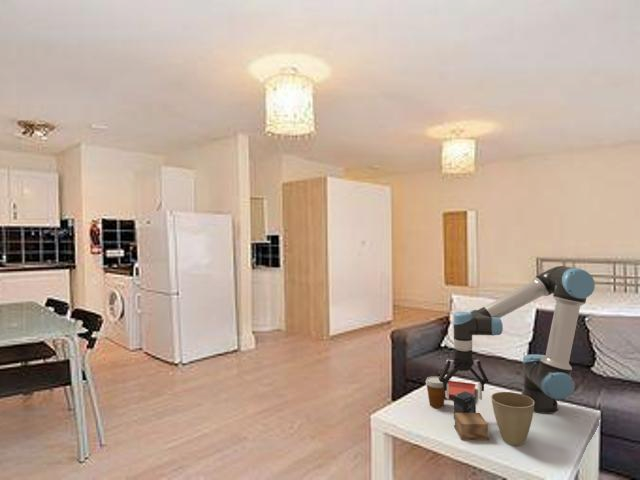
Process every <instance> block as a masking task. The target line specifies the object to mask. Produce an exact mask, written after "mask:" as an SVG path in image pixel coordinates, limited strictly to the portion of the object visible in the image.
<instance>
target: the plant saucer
mask: <svg viewBox="0 0 640 480" xmlns="http://www.w3.org/2000/svg"><path fill="white" fill-rule="evenodd" d="M448 384H449V399H448V400H450V399H451V400H454V395H457V394H459V393H462V392H464V391H466V392H468V393H471V394H474V395H475V390H476V386H477V384H476V383H471V382H462V381H454V380H449V381H448ZM445 399H447V398H446V391H445Z"/></svg>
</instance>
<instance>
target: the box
mask: <svg viewBox="0 0 640 480" xmlns="http://www.w3.org/2000/svg"><path fill="white" fill-rule="evenodd" d="M476 404H477V401H476V395H475V393H474V394H471V393H468V392H466V391H464V392H462V393H459V394H457V395H454V399H453V419H454V421H455V413H477V411H476V410H477V405H476Z"/></svg>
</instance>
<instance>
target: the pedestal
mask: <svg viewBox="0 0 640 480" xmlns="http://www.w3.org/2000/svg"><path fill="white" fill-rule="evenodd" d="M453 428H454V430H455V431H456V433H457V436H458V437H459V439H460V440H461V441H490V437H489V423H488V422H487V421H486V420H485V418H484V417H483V416H482V414H481V413H480V412H476V413H455V420H454V425H453Z"/></svg>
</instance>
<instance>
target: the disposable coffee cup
mask: <svg viewBox="0 0 640 480" xmlns="http://www.w3.org/2000/svg"><path fill="white" fill-rule="evenodd" d="M425 384H426V388H427V389H426V390H427V394H428V401H429V402H428V403H429V406H430V407H431V408H433V409H441V408H444V406H445V399H446V398H445V391H444V389H443V382H440V381H439V376H428V377H427V378H426V380H425Z"/></svg>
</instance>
